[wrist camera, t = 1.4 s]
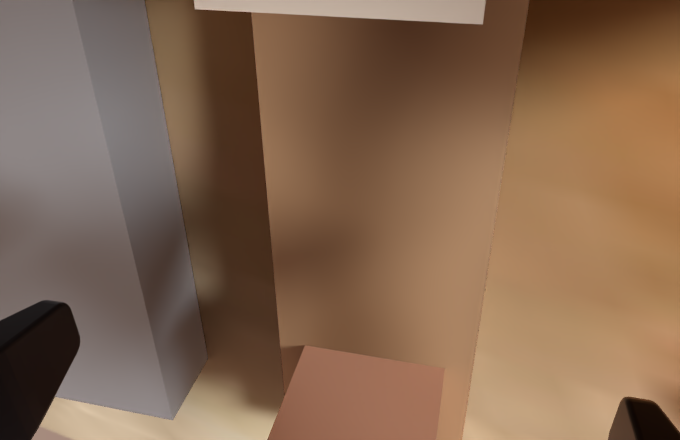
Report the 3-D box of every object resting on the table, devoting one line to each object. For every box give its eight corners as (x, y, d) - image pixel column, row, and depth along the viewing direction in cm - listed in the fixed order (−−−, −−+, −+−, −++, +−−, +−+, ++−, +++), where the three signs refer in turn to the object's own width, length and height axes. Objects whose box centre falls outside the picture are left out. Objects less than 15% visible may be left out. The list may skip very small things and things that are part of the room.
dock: (86, -325, 13) (-14, -360, 10) (208, 358, 24) (172, 420, 21) (-215, -304, 14) (-365, -331, 12) (28, 327, 25) (-24, 381, 23)
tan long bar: (589, -470, 10) (619, -583, 7) (458, 421, 23) (451, 507, 20) (281, -438, 11) (203, -527, 9) (317, 396, 24) (291, 473, 21)
